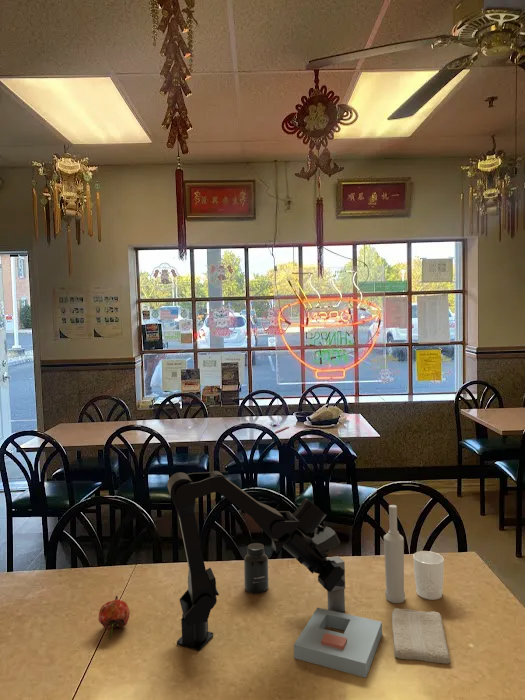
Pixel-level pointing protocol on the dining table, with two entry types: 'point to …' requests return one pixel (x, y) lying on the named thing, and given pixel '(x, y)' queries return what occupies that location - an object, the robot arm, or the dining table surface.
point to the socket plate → (339, 642)
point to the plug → (337, 591)
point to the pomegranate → (114, 614)
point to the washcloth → (419, 636)
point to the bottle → (394, 560)
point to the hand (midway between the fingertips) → (340, 581)
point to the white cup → (428, 574)
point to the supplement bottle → (256, 569)
